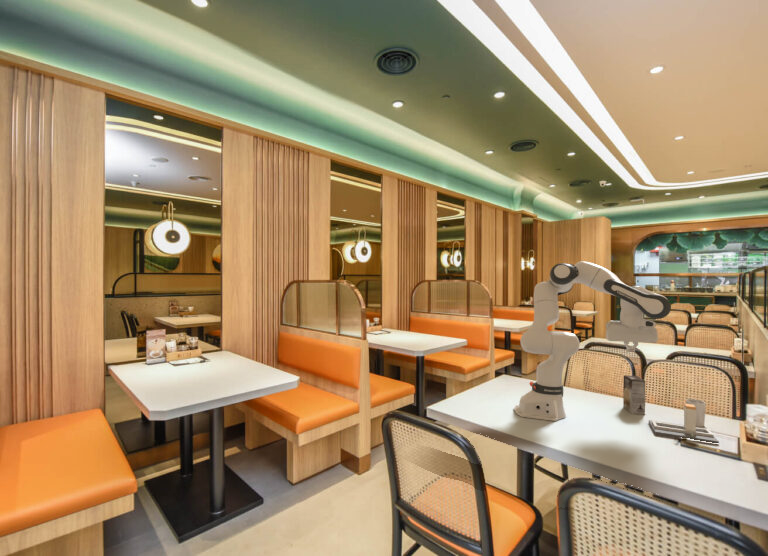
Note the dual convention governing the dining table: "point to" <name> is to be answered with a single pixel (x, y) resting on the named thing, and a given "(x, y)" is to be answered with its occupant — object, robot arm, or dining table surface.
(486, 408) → the dining table surface
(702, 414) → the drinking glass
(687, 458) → the dining table surface
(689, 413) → the fader
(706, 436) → the console
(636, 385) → the coffee box
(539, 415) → the robot arm
